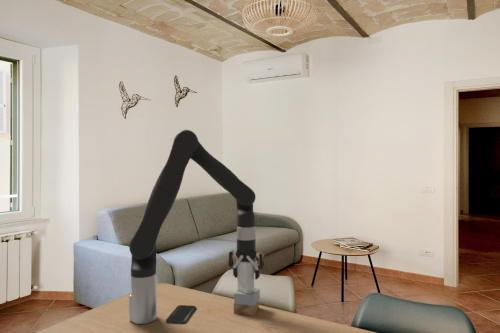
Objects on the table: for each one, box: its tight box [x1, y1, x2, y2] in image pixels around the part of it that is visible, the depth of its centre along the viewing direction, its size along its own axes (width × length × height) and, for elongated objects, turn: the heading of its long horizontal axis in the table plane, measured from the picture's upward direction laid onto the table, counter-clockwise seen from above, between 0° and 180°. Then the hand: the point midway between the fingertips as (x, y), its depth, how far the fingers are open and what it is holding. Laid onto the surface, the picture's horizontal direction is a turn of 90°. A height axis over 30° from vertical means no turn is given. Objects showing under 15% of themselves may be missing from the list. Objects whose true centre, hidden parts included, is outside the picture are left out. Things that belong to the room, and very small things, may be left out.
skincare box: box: [236, 261, 255, 294], centre depth 146 cm, size 6×4×12 cm
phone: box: [165, 304, 197, 325], centre depth 142 cm, size 8×1×15 cm
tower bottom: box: [233, 299, 260, 316], centre depth 146 cm, size 8×8×4 cm
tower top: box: [233, 287, 261, 306], centre depth 146 cm, size 8×8×4 cm
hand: (246, 277), depth 145 cm, fingers open, 8 cm apart
